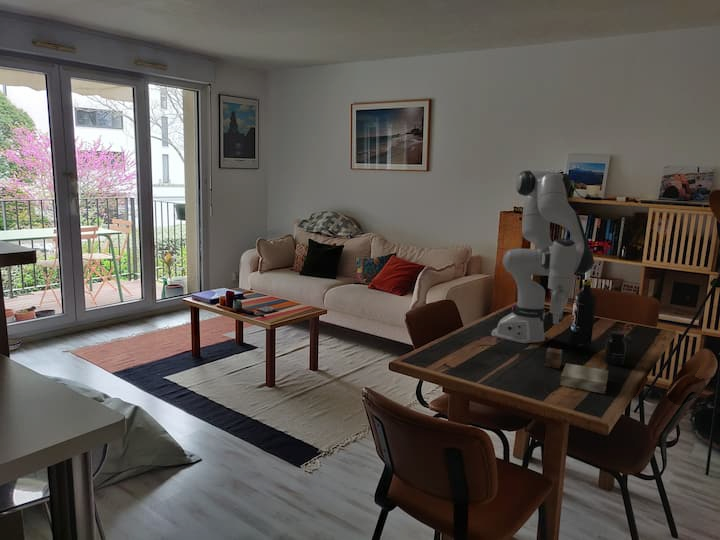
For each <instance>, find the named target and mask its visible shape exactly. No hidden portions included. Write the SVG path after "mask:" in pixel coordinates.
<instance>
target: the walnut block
mask: <svg viewBox="0 0 720 540" xmlns="http://www.w3.org/2000/svg"><path fill="white" fill-rule="evenodd" d="M545 353H546V354H545V363H544V367H545V366H547V367H546V368H550V367H552V369H556V368H558V369H557V370H560V368H561V365H562V358H563V349H560V348H559V349H558V348H554V347H548V348H547V350H546V352H545Z"/></svg>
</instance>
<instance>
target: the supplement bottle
mask: <svg viewBox="0 0 720 540" xmlns="http://www.w3.org/2000/svg"><path fill="white" fill-rule="evenodd" d="M624 339H625V333H624V332H622V331H618V330H616V331H615V330H611V331H610V335H609V338H607V339H606V342H605V343H606V344H605V351H604V359H603V360H604V363H606V364H608V365H611V366H622V365H624V362H625V358H626V357H625V356H626V349H627V342H626V341H625V340H624Z"/></svg>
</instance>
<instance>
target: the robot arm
mask: <svg viewBox="0 0 720 540" xmlns="http://www.w3.org/2000/svg"><path fill="white" fill-rule="evenodd" d="M515 182H516V183H515V187H516V191H517V194H519V195H521V196H524V197H525V199H524V204H523V207H522V218H521V219H522V221H521V235H522V237H523V238H524V239H525V240H526V241H528V242H530V243H532V244H533V245H534V246H535V248H514V249H513V248H512V249H508V250H507V251H506V252H505V253H504V255H503V258H502V265H503V268H504V269H505V271H506V272H508V273H509V274H510V275H511V276H512V277H513V279H514V281H515V284H516V287H517V302H515V303H513V304H512V307H511V313H509V314H507V315H505V316H503V317H502V318H501V319H500V320H499V322H498V323H497V327H495V328H493V329H492V331H491V333H490V335H491V336H492V337H494V338H498V339H503V340H508V341H513V342H517V343H521V344H529V343H541V342H544V341H546V337H545V331H544V321H545V314H546V311H545V309H546V307H545V299H546V290H545V288H544V286H542V285H541V284H539V283H538V282H536V281H535V280H533V279H532V276H548V283H547V289H549V290H550V293H551V297H550V305H549V313H550V314H552V323H553V325H558V324H560V320H561V319H562V318H563V315H564V314H563V313H564V309H565V308H566V307H567V305H568V302H569V298H570V293H571V291H574V287H575V278H576V277H575V274H581V275H583V274H586V273H588V272H589V271H590V270H591V269H592V268H593V266H594V259H595V258H594V254H593V252H592V250H591V247H590V246H589V243H588V239H587V237H586V232H585V230H584V227H583V223H582V220H581V218H580V214H579V213H578V212H577V210H575V209H573V207H572V206H571V205H570V203H569V201H568V194H569V193H570V190H571V182H572V181H571V178H570V176H569V175H568V174H565V173H563V172H554V171H548V170H547V171H546V170H544V171H543V170H542V171H541V170H532V171H531V170H524V171H521V172H520V173H519V174H518V176H517V178H516V181H515ZM550 223H553V224H555V225H559V226H561V227H563V228H565V229H566V230H568V232H569V233H570V236H571V239H569V238H568V239H567V238H557V239H555V240H554V241H552V239H551V238H552V237H551V234H550Z"/></svg>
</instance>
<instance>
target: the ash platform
mask: <svg viewBox="0 0 720 540" xmlns="http://www.w3.org/2000/svg"><path fill="white" fill-rule="evenodd" d="M608 376H609V369H602V368H596V367H592V366H591V367H590V366H584V365H580V364H572V363H567V362H566V363H565V365H564V367H563V370H562V373H561V374H560V382H559V383H560V385H562V386H561V387H566V386H567V387H568V388H571V387H573V388H572V389H576V388H578V389H577V390H582V389H583V390H582V391H588V392H591V393H592V392H594V393H597V392H598V394H603V393H604V394H603V395H606V392H607V386H606V385H608V378H609V377H608ZM560 385H559V386H560ZM567 387H566V388H567ZM605 391H606V392H605Z"/></svg>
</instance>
